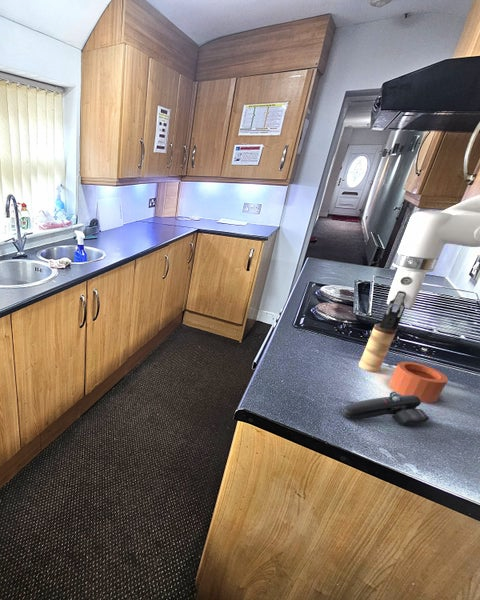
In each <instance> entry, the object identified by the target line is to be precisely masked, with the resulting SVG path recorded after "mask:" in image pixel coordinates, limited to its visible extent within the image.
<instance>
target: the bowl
mask: <svg viewBox="0 0 480 600" xmlns="http://www.w3.org/2000/svg"><path fill="white" fill-rule="evenodd" d="M448 381H449V379H448V377H447V376H446V374H444V373H443V372H441V371H439V370H437V369H435V368H433V367H431V366H428V365H425V364H421V363H418V362H413V361H400V362H398V363H397V365H396V368H395V370H394V372H393V374H392V376H391V378H390V380H389V382H388V385H389V387H390V389H392V390H393V391H395V392H396V393H399V394H400V395H402V396H404V395H415V396H417V397H418V398H419V399H420V401H421V403H425V404H426V403H427V404H433V403H436V402H438V400H439V398H440V396H441V394H442V392H443V390H444V388H445V387H446V385H447V383H448Z"/></svg>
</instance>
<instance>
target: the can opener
mask: <svg viewBox="0 0 480 600" xmlns="http://www.w3.org/2000/svg"><path fill="white" fill-rule="evenodd" d="M421 403H422V402H421V401H420V399H419V398H418V397H417V396H415V395H404V396H403V395H401V394H399V393H397V392H396V391H394V390H393V391H391V392H389V396H385V397H375V398H371V399H365V400H360V401H355V402H351V403H348V404H346V405H345V410H344V411H342V412H341V416H343V418H344V419H347V420H350V421H351V420H354V421H355V420H363V419H364V420H365V419H369V418H376V417H380V416H385V415H392V416H391V418H392V419H393V420H395V421H396V422H398V423H399V424H400V425H402V426H417V425H421V424H424V423H426V422H428V421H429V420H430V417H429V416H428V415H427V414H426V413H425V411H424V410H423V409H421V408H418V407H420V405H421Z"/></svg>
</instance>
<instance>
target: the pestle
mask: <svg viewBox="0 0 480 600" xmlns="http://www.w3.org/2000/svg"><path fill="white" fill-rule="evenodd" d="M380 324H381V323H374V326H373V327H372V330H371V332H370V335H369V338H368V341H367V343H366V345H365V348H364V350H363V353H362V355H361V358H360V360H359V362H358V367H359V368H360V369H362V370H364V371H367V372H369V373H379V372H380V370H381V368H382V365H383V364H384V361H385V359H386V356H387V355H388V352H389V350H390V347H391V345H392V342H393V340H394V338H395V336H396V333H397V331H398V329H396V331H392V330H388V329H384V328H381V327H380Z"/></svg>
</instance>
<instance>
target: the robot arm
mask: <svg viewBox="0 0 480 600" xmlns="http://www.w3.org/2000/svg"><path fill="white" fill-rule="evenodd" d="M447 244H448V245H449V244H450V245H454V246H455V245H456V246H462V247H467V248H480V194H478V195H475V196H473V197H470V198H467V199H465V200H463V201H461V202H459V203H457V204H454V205H452V206H450V207H448V208H446V209H443V210H441V211H435V210H434V211H433V210H432V211H431V210H421V211H416V212H414V213H412V215H410V217H409V220H408V222H407V226H406V228H405V231H404V234H403V236H402V239H401V242H400V244H399V247H398V249H397V252H396V254H395V257H394V260H393V263H392V267H395V268H397V269H396V272H395V274H394V277H393V280H392V283H391V286H390V288H389V292H388V296H387V299H386V305H388V307H387V309H386V312H385V313H383V317H382V319H381V321H380V323H379V324H380V327H381V328H384V329H388V330H392V331H396V329H397V328H398V326H399V324H400V322H401V319H402V317H403V314H404V312H405V310H406V309H407V310H412V309H413V307H414V304H415V302H416V300H417V297H418V295H419V292H420V290H421V288H422V286H423V283H424V281H425V278H426V275H427V273H432V272H434V271H435V268H436V266H437V264H438V261H439V259H440V256H441V254H442V251H443V250H444V247H445V245H447ZM397 330H398V329H397ZM396 332H397V331H396Z"/></svg>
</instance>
